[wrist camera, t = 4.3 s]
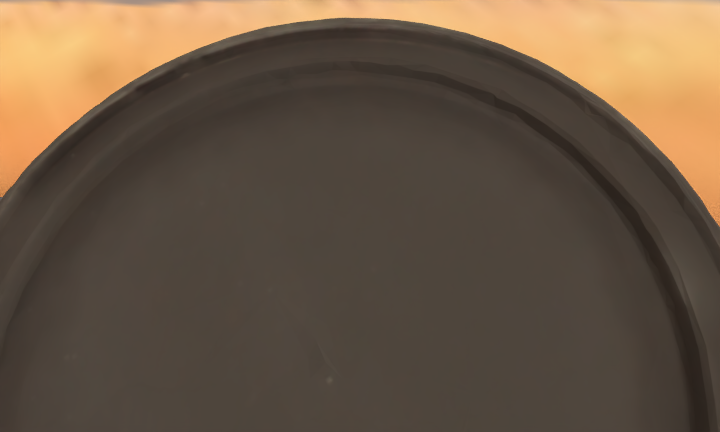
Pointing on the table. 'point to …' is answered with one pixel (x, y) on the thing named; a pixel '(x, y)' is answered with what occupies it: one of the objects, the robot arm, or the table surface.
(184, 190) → the coffee can
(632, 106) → the table surface
